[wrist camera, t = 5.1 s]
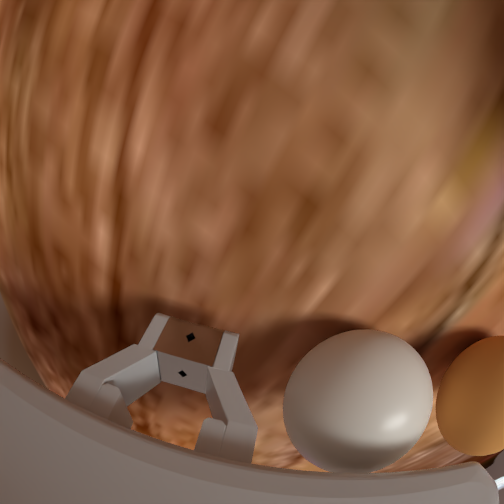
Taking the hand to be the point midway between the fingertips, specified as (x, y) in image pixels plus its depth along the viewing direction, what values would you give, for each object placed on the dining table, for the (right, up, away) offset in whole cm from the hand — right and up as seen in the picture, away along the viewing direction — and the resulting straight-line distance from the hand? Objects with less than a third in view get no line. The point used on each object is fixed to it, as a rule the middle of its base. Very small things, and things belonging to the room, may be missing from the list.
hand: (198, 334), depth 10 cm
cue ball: (+6, -2, -1) cm, 6 cm away
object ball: (+12, -3, -2) cm, 13 cm away
